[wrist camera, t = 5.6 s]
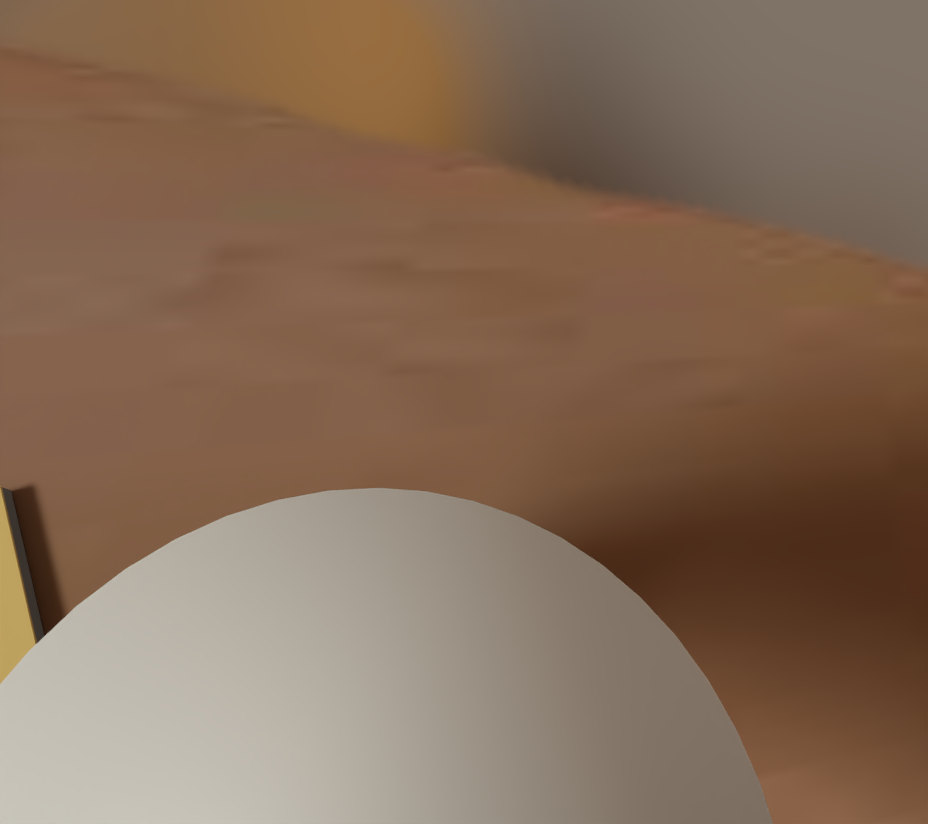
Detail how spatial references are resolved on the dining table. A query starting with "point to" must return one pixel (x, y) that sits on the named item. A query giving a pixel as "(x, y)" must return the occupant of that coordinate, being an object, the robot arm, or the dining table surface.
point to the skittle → (368, 682)
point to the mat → (15, 592)
